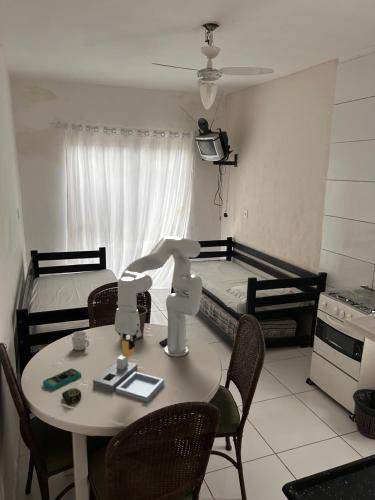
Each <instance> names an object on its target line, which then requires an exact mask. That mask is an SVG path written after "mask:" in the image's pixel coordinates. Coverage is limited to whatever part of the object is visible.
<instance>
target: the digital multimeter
mask: <svg viewBox="0 0 375 500" xmlns="http://www.w3.org/2000/svg"><path fill="white" fill-rule="evenodd" d="M80 378H82V373H81V372H80V371H79V370H77V369H74V368H69V369H67V370H65V371H63V372H60V373H58V374H56V375H54V376H52V377H49V378H48V377H47V378H46V379H44V380H43V382H42V385H43V386H44V388H45V389H47V390H48V391H52V392H53V391H56V390H57V389H59V388H61V387H63V386H64V385H67V384H70V383H71V382H74V381H76V380H78V379H80Z"/></svg>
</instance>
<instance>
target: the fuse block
mask: <svg viewBox="0 0 375 500" xmlns="http://www.w3.org/2000/svg"><path fill="white" fill-rule="evenodd" d="M135 371H136V372H138V363H135V362H130V361H128V366H127V367H126V368H125V369H124V370H120V369H117V361H116V362H114V363H113V364H112V365H110V366H109V367H108V368H107V369H105V370H104V371H103V372H101V373H100V374H99V375H98V376H96V377H95V378H94V379H93V380H92V385H93V386H92V387H95V388H98V389H101V390H105V391H106V392H110V393H113V392H115V391H116V388H117V387H118V386H119V385H120V384H121V383H122V382H123V381H125V380H126V379H127V378H128V377H129V376H130V375H131V374H133V373H134V372H135Z"/></svg>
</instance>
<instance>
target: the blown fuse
mask: <svg viewBox="0 0 375 500" xmlns="http://www.w3.org/2000/svg"><path fill="white" fill-rule="evenodd" d="M129 341H130V335H127V336H125V337H123V338H122V339H121V355H122V356H124V357H128V358H130V357H131V356H132V355H133V354H134V355H135V347H134V348H132V349H131V350H130V349H129Z"/></svg>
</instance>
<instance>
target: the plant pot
mask: <svg viewBox="0 0 375 500" xmlns="http://www.w3.org/2000/svg"><path fill="white" fill-rule="evenodd" d="M137 310H138V313H139V320H140V331H141V334H142V335H141V336H140V337H137V338H136V339H135V342H136V341H137V340H141V339H143V337H144V332H145V323H146V318H147V313H148V309H147V308H146V306H143V305H138V304H137ZM136 334H137V332H136ZM126 336H127V334H126Z"/></svg>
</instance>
